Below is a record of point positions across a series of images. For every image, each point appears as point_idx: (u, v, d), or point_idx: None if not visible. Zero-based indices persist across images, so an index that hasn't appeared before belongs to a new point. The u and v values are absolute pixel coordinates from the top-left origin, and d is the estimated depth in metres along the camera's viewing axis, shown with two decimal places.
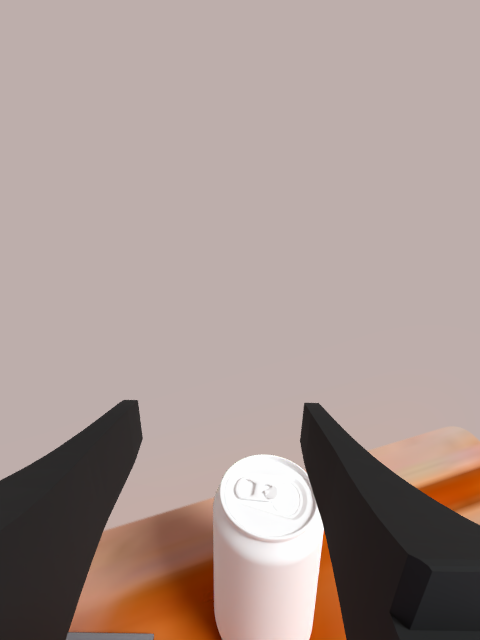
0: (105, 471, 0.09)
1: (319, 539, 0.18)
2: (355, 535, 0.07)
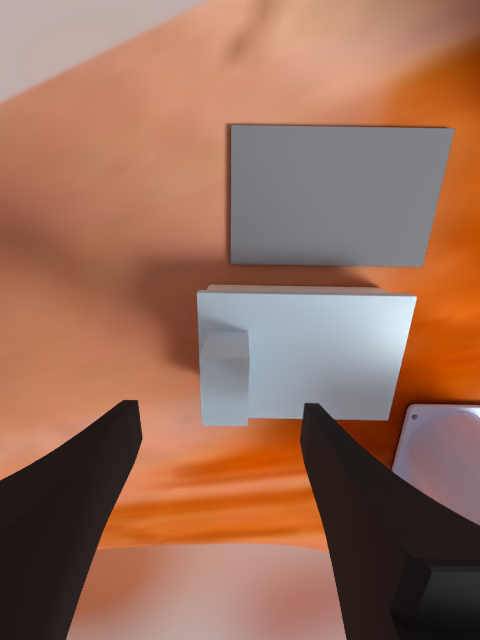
0: (105, 471, 0.09)
1: None
2: (355, 535, 0.07)
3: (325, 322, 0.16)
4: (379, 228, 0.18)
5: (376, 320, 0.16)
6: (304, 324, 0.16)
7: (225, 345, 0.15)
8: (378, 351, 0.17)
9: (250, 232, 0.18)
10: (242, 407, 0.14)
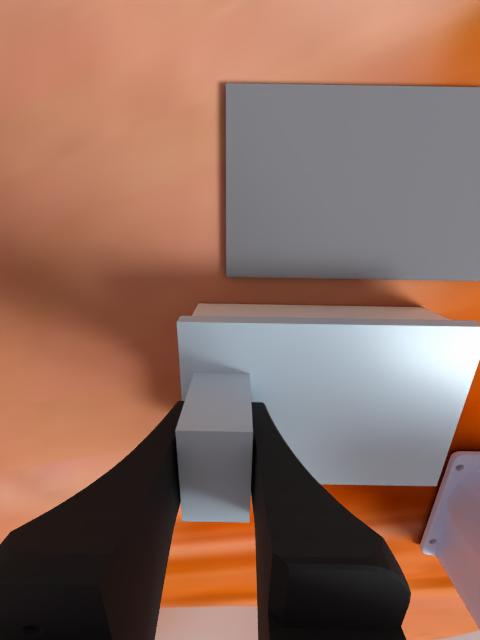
0: (175, 472, 0.09)
1: None
2: (261, 533, 0.07)
3: (358, 361, 0.12)
4: (427, 229, 0.13)
5: (430, 359, 0.12)
6: (328, 364, 0.12)
7: (217, 402, 0.10)
8: (430, 400, 0.12)
9: (252, 235, 0.13)
10: (241, 498, 0.09)
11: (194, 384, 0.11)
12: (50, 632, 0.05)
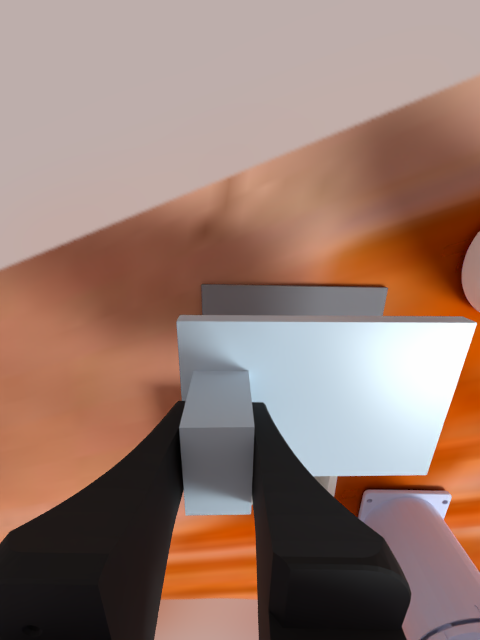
0: (174, 472, 0.09)
1: None
2: (261, 533, 0.07)
3: (353, 357, 0.12)
4: None
5: (421, 354, 0.12)
6: (324, 360, 0.12)
7: (218, 399, 0.10)
8: (420, 393, 0.13)
9: None
10: (243, 491, 0.10)
11: (194, 382, 0.11)
12: (49, 632, 0.05)
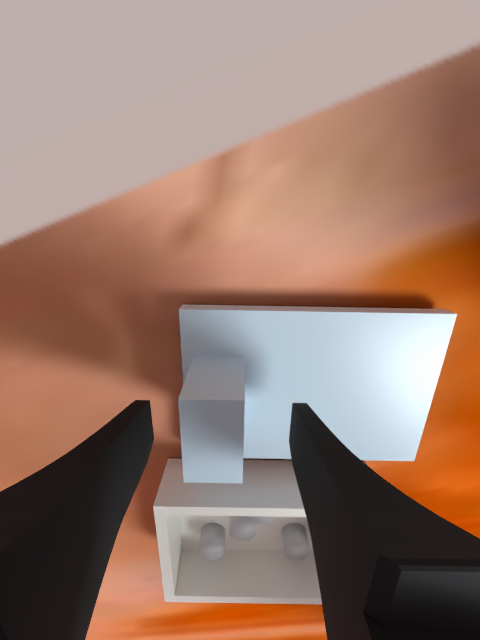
0: (120, 471, 0.09)
1: None
2: (335, 535, 0.07)
3: (340, 345, 0.13)
4: None
5: (404, 343, 0.13)
6: (314, 348, 0.13)
7: (214, 378, 0.11)
8: (405, 380, 0.14)
9: None
10: (235, 461, 0.11)
11: (194, 364, 0.12)
12: None
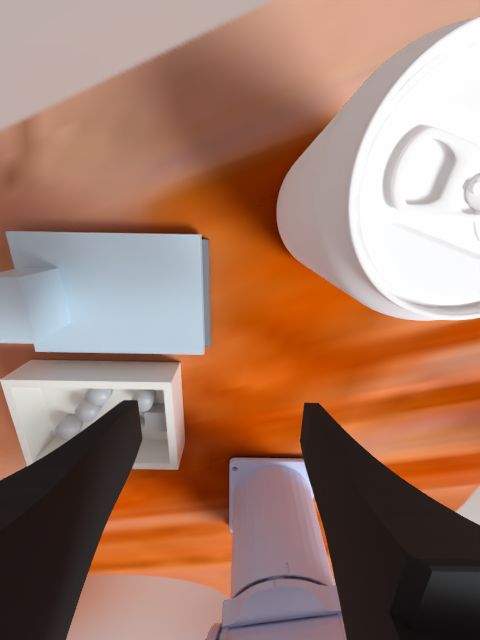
0: (105, 471, 0.09)
1: None
2: (355, 535, 0.07)
3: (125, 259, 0.18)
4: None
5: (169, 257, 0.18)
6: (107, 261, 0.18)
7: (16, 272, 0.17)
8: (178, 287, 0.19)
9: None
10: (26, 325, 0.16)
11: (14, 269, 0.18)
12: None
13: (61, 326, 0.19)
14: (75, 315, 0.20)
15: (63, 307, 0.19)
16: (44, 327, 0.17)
